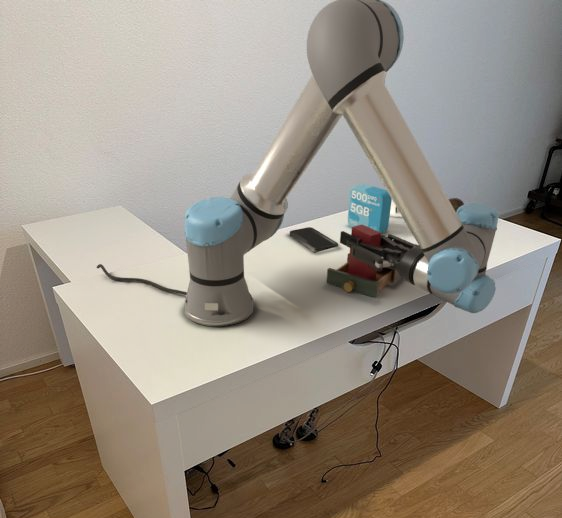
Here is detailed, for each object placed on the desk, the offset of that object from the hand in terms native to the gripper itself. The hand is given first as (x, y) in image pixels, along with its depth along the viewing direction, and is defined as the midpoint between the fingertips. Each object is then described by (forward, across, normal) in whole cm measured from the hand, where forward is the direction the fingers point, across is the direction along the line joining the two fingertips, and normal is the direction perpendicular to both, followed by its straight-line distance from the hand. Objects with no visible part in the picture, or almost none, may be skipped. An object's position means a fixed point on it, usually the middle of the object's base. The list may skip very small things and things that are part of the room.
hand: (350, 234), depth 128 cm
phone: (+24, +8, -12) cm, 28 cm away
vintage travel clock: (+11, +51, -12) cm, 53 cm away
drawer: (-5, +2, -11) cm, 12 cm away
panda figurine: (+28, +47, -12) cm, 56 cm away
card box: (-5, 0, -10) cm, 11 cm away
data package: (+22, +28, -12) cm, 37 cm away
